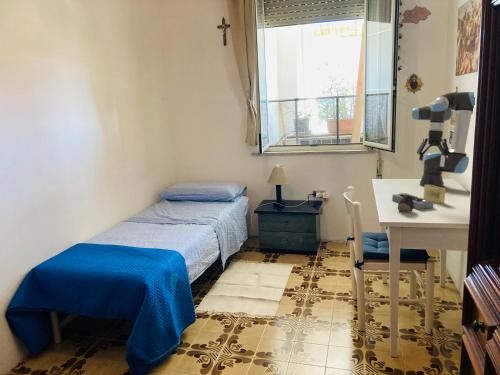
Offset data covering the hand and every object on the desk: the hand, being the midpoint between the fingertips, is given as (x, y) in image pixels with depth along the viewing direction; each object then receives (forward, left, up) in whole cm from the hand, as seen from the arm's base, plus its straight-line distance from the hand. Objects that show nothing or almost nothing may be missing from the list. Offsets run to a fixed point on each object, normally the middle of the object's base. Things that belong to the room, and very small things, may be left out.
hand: (431, 166), depth 227 cm
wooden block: (0, +3, -21) cm, 21 cm away
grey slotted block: (+16, +3, -21) cm, 26 cm away
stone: (+29, +14, -21) cm, 39 cm away
